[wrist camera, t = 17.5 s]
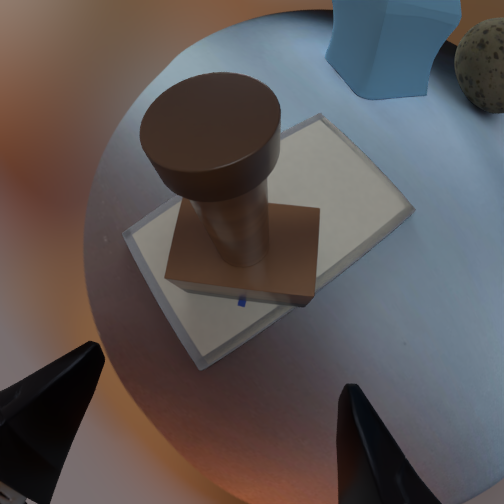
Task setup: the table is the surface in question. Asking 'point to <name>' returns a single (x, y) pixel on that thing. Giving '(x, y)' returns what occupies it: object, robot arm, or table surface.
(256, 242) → the wooden rubber stamp
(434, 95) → the table surface
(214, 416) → the table surface
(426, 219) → the table surface
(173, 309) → the board
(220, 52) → the table surface
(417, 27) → the vase
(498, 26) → the decorative egg
